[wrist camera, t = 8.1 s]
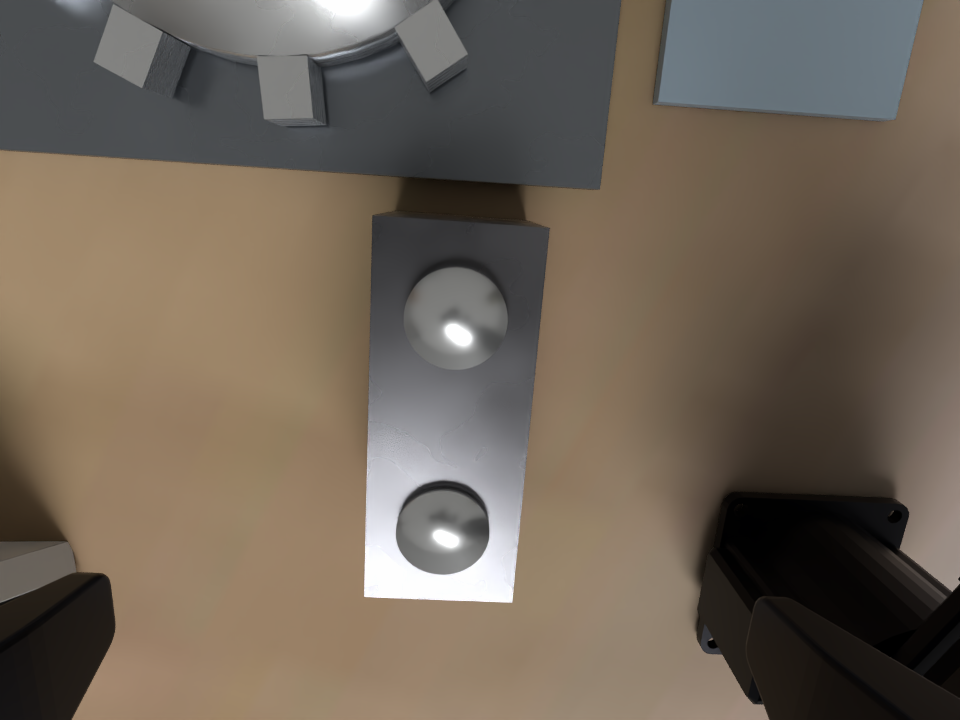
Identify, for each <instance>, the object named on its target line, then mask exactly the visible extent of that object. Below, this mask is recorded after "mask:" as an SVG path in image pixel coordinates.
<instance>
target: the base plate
mask: <svg viewBox="0 0 960 720" xmlns="http://www.w3.org/2000/svg"><path fill="white" fill-rule="evenodd" d="M113 4H114V5H116V6H118V7H119V8H121V9H123V8H122V7H120V6H119V5H117V4H116V3H114V2H112V1H111V0H0V150H4V151H19V152H34V153H49V154H64V155H79V156H94V157H109V158H124V159H138V160H153V161H168V162H183V163H198V164H213V165H228V166H243V167H258V168H273V169H288V170H303V171H318V172H333V173H348V174H363V175H378V176H393V177H408V178H423V179H438V180H453V181H468V182H483V183H498V184H513V185H528V186H543V187H558V188H573V189H588V190H598V189H600V183H601V174H602V166H603V157H604V148H605V139H606V130H607V121H608V113H609V104H610V95H611V86H612V77H613V68H614V60H615V51H616V42H617V33H618V24H619V15H620V7H621V0H454V1H453V2H452V3H451V5H450V6H449V7H448V8H447V9H446V10H444V12H445V14H446V15H447V17H448V19H449V21H450V23H451V24H452V26H453V28H454V30H455V32H456V33H457V35H458V37H459V39H460V41H461V42H462V44H463V46H464V48H465V50H466V51H467V53H468V64H467V68H465V69H464V70H462V71H461V72H459V73H458V74H456V75H455V76H453V77H452V78H450V79H449V80H447V81H446V82H444V83H443V84H441V85H440V86H438V87H437V88H436V89H434V90H433V91H431V92H430V93H429V91H428V89H427V87H426V86H425V84H424V82H423V81H422V79H421V77H420V76H419V74H418V72H417V70H416V69H415V67H414V65H413V64H412V62H411V60H410V58H409V57H408V55H407V53H406V52H405V50H404V48H403V46H402V45H401V43H400V42H398V43H397V44H395V45H393V46H392V47H389V48H387V49H384V50H382V51H379V52H377V53H374V54H372V55H369V56H367V57H364V58H362V59H358V60H354V61H350V62H346V63H342V64H338V65H333V66H327V67H320V68H321V70H322V81H323V92H324V103H325V114H326V125H315V126H280V125H278V124H275V123H272V122H270V121H267V120H265V119H264V114H263V106H262V97H261V89H260V80H259V72H258V66H255V65H250V64H245V63H240V62H234V61H231V60H228V59H225V58H222V57H219V56H216V55H213V54H210V53H207V52H204V51H201V50H199V49H197V48H195V47H193V46H191V45H188V44H186V43H184V42H182V41H180V40H179V41H180V42H182V43H184V44H186V45H188V46H189V47H191V49H190V52H189V54H188V57H187V60H186V62H185V65H184V67H183V70H182V73H181V75H180V78H179V81H178V83H177V86H176V89H175V91H174V94H173V96H172V98H169V97H166V96H163V95H160V94H157V93H154V92H152V91H149V90H146V89H143V88H141V87H139V86H137V85H135V84H133V83H131V82H130V81H128V80H126V79H124V78H122V77H120V76H119V75H117V74H115V73H113V72H111V71H109V70H107V69H106V68H104V67H102V66H100V65H98V64H96V63H95V62H94V59H95V56H96V53H97V50H98V47H99V44H100V41H101V38H102V36H103V33H104V30H105V27H106V24H107V21H108V18H109V15H110V12H111V9H112V6H113ZM123 10H125V9H123ZM125 11H126V10H125ZM127 12H128V11H127ZM128 13H130V12H128ZM130 14H131V13H130ZM132 15H133V14H132ZM171 37H172V36H171ZM173 38H174V37H173ZM175 39H176V38H175ZM177 40H178V39H177Z"/></svg>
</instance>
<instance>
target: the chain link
mask: <svg viewBox="0 0 960 720" xmlns="http://www.w3.org/2000/svg"><path fill="white" fill-rule="evenodd" d="M549 229H550V228H548V227H545V226H542V225H539V224H536V223H533V222H530V221H527V220H517V219H503V218H490V217H476V216H462V215H448V214H434V213H420V212H407V211H391V212H386V213H382V214H377V215H373V217H372V263H371V310H370V356H369V403H368V449H367V495H366V542H365V588H364V597H379V598H405V599H432V600H459V601H485V602H512V598H513V588H514V578H515V568H516V558H517V548H518V538H519V528H520V518H521V508H522V498H523V488H524V478H525V468H526V458H527V448H528V438H529V428H530V418H531V408H532V398H533V388H534V378H535V368H536V359H537V349H538V339H539V329H540V319H541V309H542V299H543V289H544V279H545V269H546V259H547V249H548V239H549Z"/></svg>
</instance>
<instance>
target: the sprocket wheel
mask: <svg viewBox="0 0 960 720" xmlns="http://www.w3.org/2000/svg"><path fill="white" fill-rule="evenodd" d="M111 1H112V2H114V3H116V4H117V5H119V6H120V7H122V8H123V9H125V10H126V11H125V10H123V9H121V8H119V7H118V6H116V5H114V4H113V6H112V9H111V12H110V15H109V18H108V21H107V24H106V27H105V30H104V33H103V36H102V38H101V41H100V44H99V47H98V50H97V53H96V56H95V59H94V62H95V63H96V64H98V65H100V66H102V67H104V68H106V69H107V70H109V71H111V72H113V73H115V74H117V75H119V76H120V77H122V78H124V79H126V80H128V81H130V82H131V83H133V84H135V85H137V86H139V87H141V88H143V89H146V90H149V91H152V92H154V93H157V94H160V95H163V96H166V97H169V98H172V96H173V94H174V91H175V89H176V86H177V83H178V81H179V78H180V75H181V73H182V70H183V67H184V65H185V62H186V60H187V57H188V54H189V52H190V49H191V47H189V46H188V45H191V46H193V47H195V48H197V49H199V50H201V51H204V52H207V53H210V54H213V55H216V56H219V57H222V58H225V59H228V60H231V61H234V62H240V63H245V64H250V65H255V66H258V72H259V80H260V89H261V97H262V106H263V114H264V119H265V120H267V121H270V122H272V123H275V124H278V125H280V126H315V125H326V114H325V103H324V92H323V81H322V70H321V68H320V67H327V66H333V65H338V64H342V63H346V62H350V61H354V60H358V59H362V58H364V57H367V56H369V55H372V54H374V53H377V52H379V51H382V50H384V49H387V48H389V47H392V46H393V45H395V44H397V43H398V42H400V43H401V45H402V46H403V48H404V50H405V52H406V53H407V55H408V57H409V58H410V60H411V62H412V64H413V65H414V67H415V69H416V70H417V72H418V74H419V76H420V77H421V79H422V81H423V82H424V84H425V86H426V87H427V89H428V91H429V93H430V92H431V91H433V90H434V89H436V88H437V87H438V86H440V85H441V84H443V83H444V82H446V81H447V80H449V79H450V78H452V77H453V76H455V75H456V74H458V73H459V72H461V71H462V70H464V69H465V68H467V64H468V53H467V51H466V50H465V48H464V46H463V44H462V42H461V41H460V39H459V37H458V35H457V33H456V32H455V30H454V28H453V26H452V24H451V23H450V21H449V19H448V17H447V15H446V14H445V12H444V10H446V9H447V8H448V7H449V6H450V5H451V3H452V2H453V1H454V0H111ZM127 11H128V12H130V13H131V14H130V13H128V12H127ZM132 14H133V15H132ZM171 36H172V37H171ZM173 37H174V38H173ZM175 38H176V39H175ZM177 39H178V40H177ZM179 40H180V41H182V42H184V43H186V44H188V45H186V44H184V43H182V42H180V41H179Z"/></svg>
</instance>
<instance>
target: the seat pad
mask: <svg viewBox="0 0 960 720" xmlns="http://www.w3.org/2000/svg"><path fill="white" fill-rule="evenodd" d="M922 5H923V0H666V7H665V14H664V22H663V30H662V37H661V45H660V52H659V60H658V68H657V75H656V83H655V90H654V98H653V104H654V105H667V106H681V107H694V108H708V109H721V110H735V111H748V112H762V113H775V114H789V115H802V116H816V117H829V118H843V119H856V120H870V121H889V120H895V119H896V115H897V110H898V106H899V102H900V98H901V93H902V89H903V85H904V81H905V77H906V72H907V68H908V64H909V60H910V55H911V51H912V47H913V43H914V38H915V34H916V30H917V26H918V21H919V17H920V13H921V9H922Z"/></svg>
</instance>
